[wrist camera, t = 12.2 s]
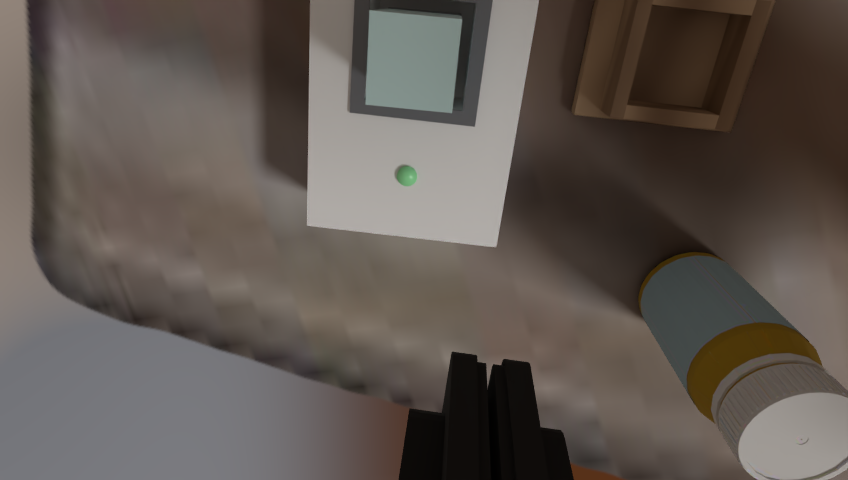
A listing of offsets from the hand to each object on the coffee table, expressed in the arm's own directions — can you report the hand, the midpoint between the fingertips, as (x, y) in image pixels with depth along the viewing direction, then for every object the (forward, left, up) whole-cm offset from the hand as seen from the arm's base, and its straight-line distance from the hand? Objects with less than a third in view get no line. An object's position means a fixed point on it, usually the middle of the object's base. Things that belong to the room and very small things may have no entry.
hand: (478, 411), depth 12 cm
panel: (+3, -2, -27) cm, 27 cm away
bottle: (-18, +10, -27) cm, 34 cm away
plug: (+3, -5, -26) cm, 26 cm away
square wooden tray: (-12, -6, -27) cm, 30 cm away
